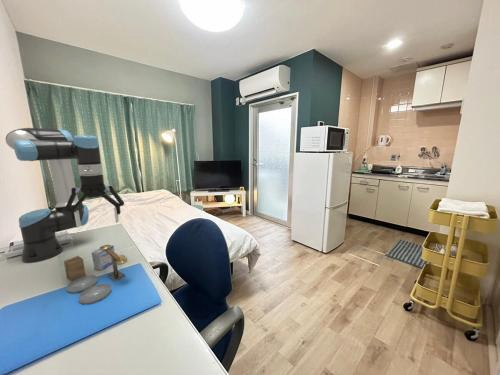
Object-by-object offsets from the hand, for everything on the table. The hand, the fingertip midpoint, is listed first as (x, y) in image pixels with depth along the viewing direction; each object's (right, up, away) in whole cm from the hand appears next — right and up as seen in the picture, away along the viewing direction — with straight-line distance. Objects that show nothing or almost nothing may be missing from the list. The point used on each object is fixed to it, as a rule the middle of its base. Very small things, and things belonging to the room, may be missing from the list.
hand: (98, 223), depth 89 cm
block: (-11, -23, +2) cm, 26 cm away
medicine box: (-4, -22, +10) cm, 24 cm away
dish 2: (+6, -25, -9) cm, 28 cm away
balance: (+7, -23, +2) cm, 24 cm away
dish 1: (-4, -24, -4) cm, 25 cm away
